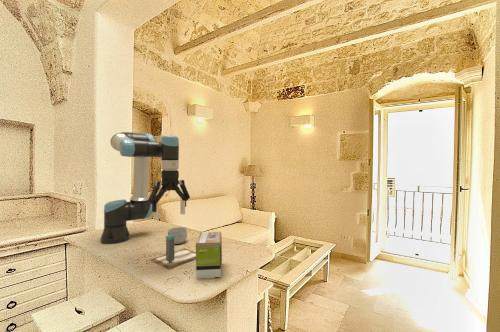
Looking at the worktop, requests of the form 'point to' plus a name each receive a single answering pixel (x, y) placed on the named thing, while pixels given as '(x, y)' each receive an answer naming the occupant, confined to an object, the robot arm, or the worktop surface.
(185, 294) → the worktop surface
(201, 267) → the tea box
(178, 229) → the teacup
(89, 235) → the worktop surface
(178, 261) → the clipboard
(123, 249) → the worktop surface
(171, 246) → the marker
